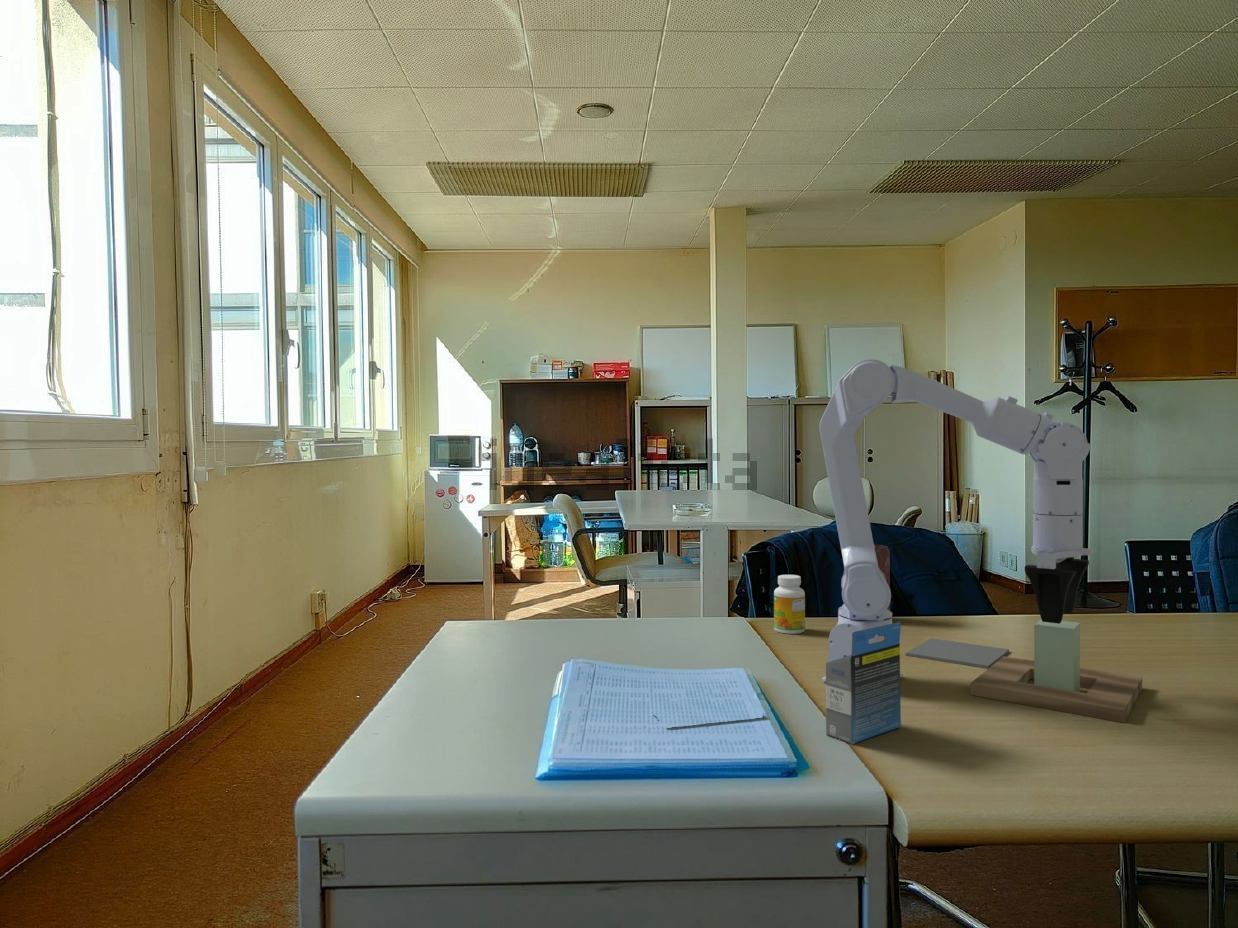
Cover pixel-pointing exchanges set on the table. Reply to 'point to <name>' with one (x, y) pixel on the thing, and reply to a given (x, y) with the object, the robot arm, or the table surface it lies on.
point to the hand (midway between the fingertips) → (1057, 617)
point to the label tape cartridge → (865, 687)
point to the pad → (958, 652)
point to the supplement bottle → (789, 605)
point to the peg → (1057, 655)
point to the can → (883, 562)
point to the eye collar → (1060, 690)
